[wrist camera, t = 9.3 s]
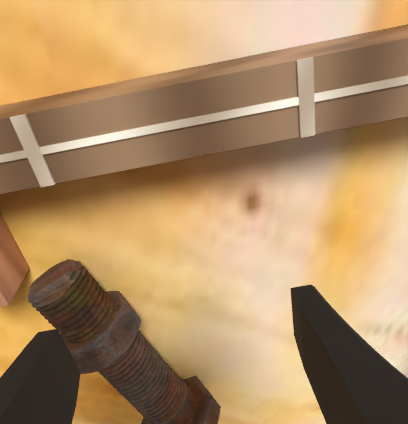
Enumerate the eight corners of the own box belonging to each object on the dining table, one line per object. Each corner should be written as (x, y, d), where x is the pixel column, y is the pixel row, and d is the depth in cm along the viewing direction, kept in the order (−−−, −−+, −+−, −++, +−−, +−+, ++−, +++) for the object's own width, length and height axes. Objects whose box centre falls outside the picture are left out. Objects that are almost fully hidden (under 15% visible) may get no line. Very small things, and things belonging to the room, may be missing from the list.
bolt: (79, 232, 23) (194, 373, 29) (6, 286, 21) (144, 422, 28) (102, 262, 18) (234, 424, 24) (8, 335, 16) (176, 486, 23)
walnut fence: (490, 8, 16) (554, 9, 13) (456, 190, 20) (498, 219, 18) (-94, 124, 17) (-146, 148, 14) (-4, 274, 21) (-31, 313, 19)
